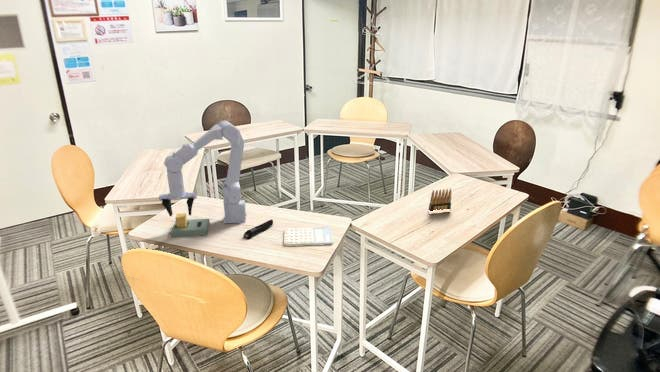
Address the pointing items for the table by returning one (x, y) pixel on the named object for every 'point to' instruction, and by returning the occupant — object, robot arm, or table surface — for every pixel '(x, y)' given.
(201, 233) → the socket plate
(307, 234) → the calculator
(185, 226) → the square peg
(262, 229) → the electric trimmer
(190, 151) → the robot arm
